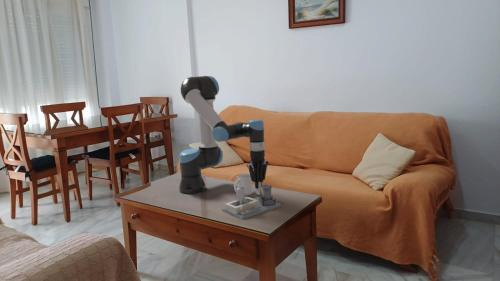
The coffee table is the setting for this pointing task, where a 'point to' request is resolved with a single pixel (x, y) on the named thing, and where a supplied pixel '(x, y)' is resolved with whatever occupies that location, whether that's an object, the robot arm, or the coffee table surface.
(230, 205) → the plate
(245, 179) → the mug
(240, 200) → the pin
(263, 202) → the ring lever
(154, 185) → the coffee table surface
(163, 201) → the coffee table surface
